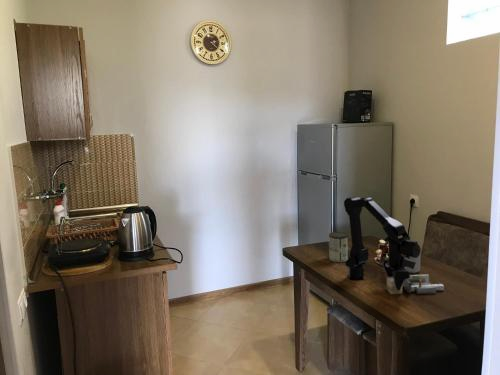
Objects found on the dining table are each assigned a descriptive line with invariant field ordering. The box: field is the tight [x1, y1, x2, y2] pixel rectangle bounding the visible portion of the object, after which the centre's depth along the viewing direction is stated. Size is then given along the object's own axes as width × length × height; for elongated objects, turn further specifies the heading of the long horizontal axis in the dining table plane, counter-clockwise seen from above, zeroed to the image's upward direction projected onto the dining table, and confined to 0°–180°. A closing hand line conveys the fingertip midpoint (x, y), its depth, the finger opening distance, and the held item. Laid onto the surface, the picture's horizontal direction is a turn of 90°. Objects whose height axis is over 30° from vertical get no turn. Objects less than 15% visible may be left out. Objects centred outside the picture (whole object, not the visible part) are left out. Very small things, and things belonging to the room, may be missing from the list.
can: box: [403, 252, 421, 274], centre depth 203 cm, size 8×8×12 cm
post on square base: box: [403, 279, 445, 294], centre depth 180 cm, size 16×5×5 cm, turn 91°
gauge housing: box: [402, 274, 437, 295], centre depth 181 cm, size 13×9×5 cm
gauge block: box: [386, 276, 403, 295], centre depth 180 cm, size 5×5×6 cm
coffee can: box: [328, 231, 349, 263], centre depth 224 cm, size 10×10×14 cm
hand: (394, 286), depth 180 cm, fingers open, 9 cm apart
